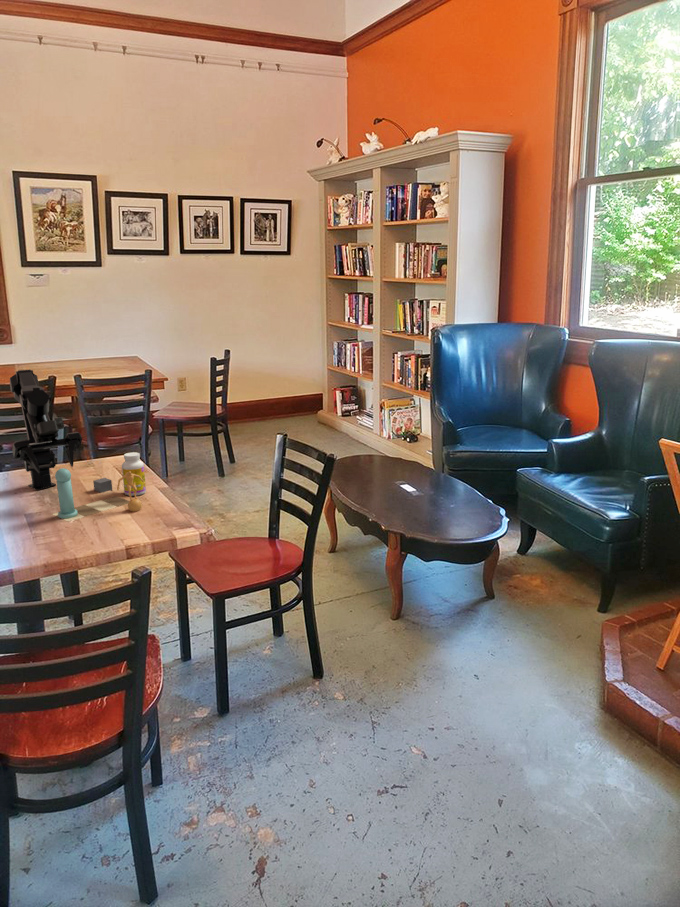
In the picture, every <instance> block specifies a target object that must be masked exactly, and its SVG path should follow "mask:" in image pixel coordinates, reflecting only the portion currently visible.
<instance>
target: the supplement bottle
mask: <svg viewBox="0 0 680 907" xmlns="http://www.w3.org/2000/svg"><path fill="white" fill-rule="evenodd" d="M140 457H141V455H140V452H133V451H132V452H127V453H124V454H123V460H124V462H123V463H122V464H121V472H122V477H123V476H124V475H125V474H126V473H127V472H129V471H130V472H131V473H132V474H135V475H139V476H140V477H141V478H142V479H143V481H144V482H145V484H144V482H142V481H141V479H140V478H139V477H134V478H133V483H135V485H136V488H137V492H136V497H137V496H142V495H144V494H146V492H147V486H146V484H147V483H146V476H145V475H146V474H145V465H144V462H143V461H141V460H140V459H141V458H140ZM122 482H123V483H122V484H123V492H124V494H125V495H126V496H129V491H128V489H127V487H126V484H128V482H127V480H126V478H124V479H122ZM134 491H135V490H134V489H133V487H131V497H135V496H134ZM129 497H130V496H129Z"/></svg>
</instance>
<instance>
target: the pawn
mask: <svg viewBox="0 0 680 907" xmlns="http://www.w3.org/2000/svg"><path fill="white" fill-rule="evenodd" d="M54 478H55V480H56V487H57V495H58V496H57V497H58V503H59V504H58V505H59V511H58V512H57V513H58V517H57V518H59V519H61V518H62V519H61V520H63V519H67V518H73V517H75V516H77V515H78V512H77V510H76V509H74V508H75V504H74V503H75V502H74V494H73V486H72V485H73V484H72V479H71V478H72V473H71V471H70V470H69V469H67V468H66V467H65V468H63V467H62V468H59V469H58V470H56V472H55V475H54Z"/></svg>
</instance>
